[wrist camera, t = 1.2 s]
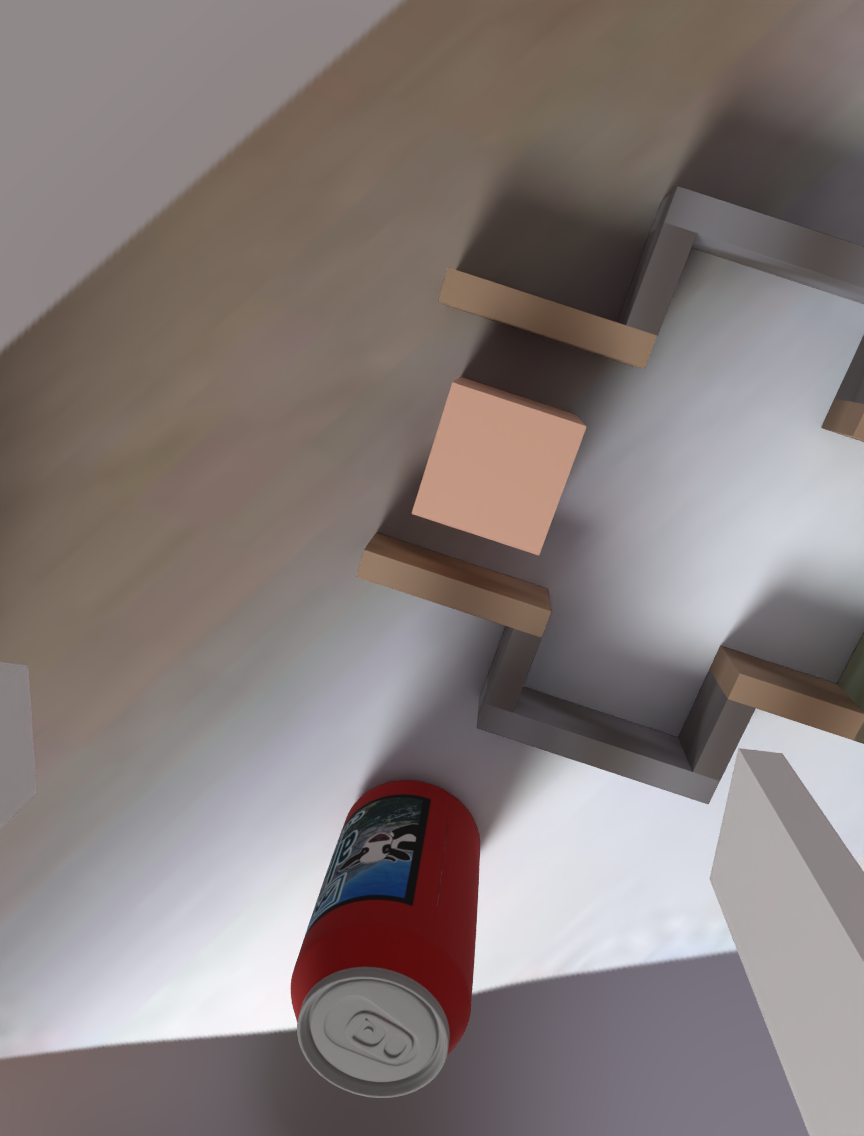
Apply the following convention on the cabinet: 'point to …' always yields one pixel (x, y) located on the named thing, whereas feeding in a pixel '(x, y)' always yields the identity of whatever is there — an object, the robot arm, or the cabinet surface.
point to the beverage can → (391, 943)
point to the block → (498, 465)
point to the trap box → (505, 706)
